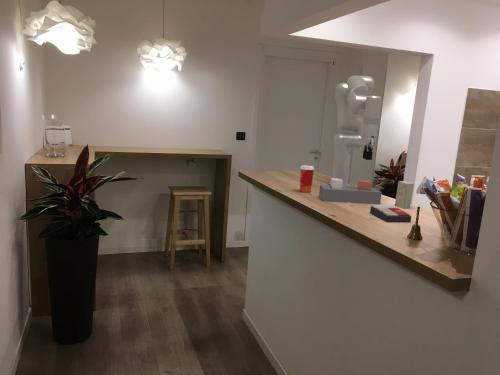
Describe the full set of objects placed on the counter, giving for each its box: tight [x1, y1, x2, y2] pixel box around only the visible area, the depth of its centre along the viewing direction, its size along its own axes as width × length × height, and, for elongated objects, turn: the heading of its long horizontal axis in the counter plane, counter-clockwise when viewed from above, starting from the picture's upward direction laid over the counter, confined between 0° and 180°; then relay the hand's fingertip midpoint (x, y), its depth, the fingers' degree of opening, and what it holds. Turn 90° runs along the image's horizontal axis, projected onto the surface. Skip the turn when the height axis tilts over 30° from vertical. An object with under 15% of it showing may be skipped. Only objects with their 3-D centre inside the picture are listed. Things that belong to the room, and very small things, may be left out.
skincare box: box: [394, 180, 415, 209], centre depth 199 cm, size 6×4×12 cm
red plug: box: [357, 179, 372, 191], centre depth 208 cm, size 5×5×7 cm
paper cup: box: [299, 164, 315, 194], centre depth 222 cm, size 8×8×14 cm
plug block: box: [318, 184, 382, 205], centre depth 209 cm, size 12×28×6 cm, turn 90°
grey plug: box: [329, 177, 343, 189], centre depth 208 cm, size 5×5×7 cm
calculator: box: [369, 204, 412, 223], centre depth 178 cm, size 11×4×15 cm
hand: (367, 158), depth 205 cm, fingers open, 3 cm apart
